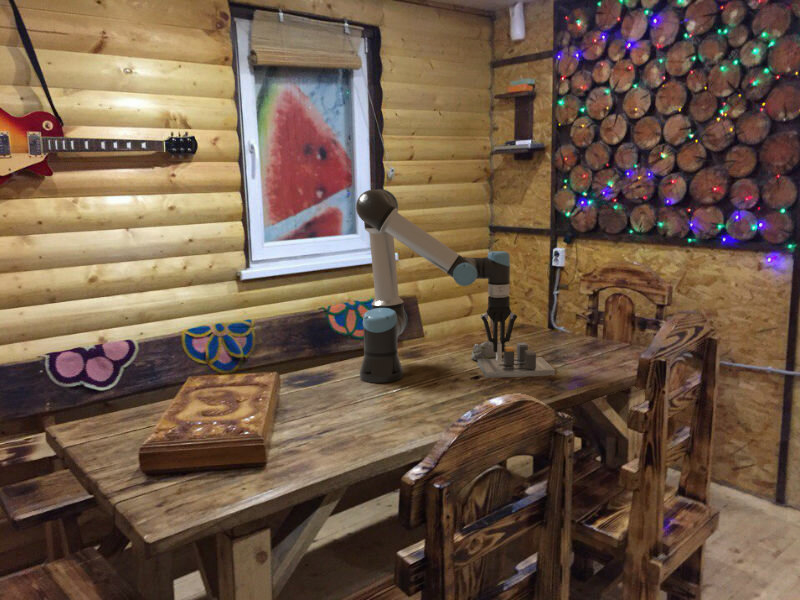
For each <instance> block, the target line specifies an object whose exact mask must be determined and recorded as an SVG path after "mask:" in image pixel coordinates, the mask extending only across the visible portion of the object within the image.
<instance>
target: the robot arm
mask: <svg viewBox="0 0 800 600" xmlns="http://www.w3.org/2000/svg"><path fill="white" fill-rule="evenodd" d="M398 209H399V204H398V200H397V198H396V196H395V194H393V193H392V192H390V191H388V190H386V189H383V188H382V189H380V188H378V189H369V190H365V191H364V192H362V193H361V194H360V195H359V197H358V198H357V200H356V204H355V210H356V213H357V215H358V217H359V218H360V219H361V221H362V222H364V223H363V224H364V230H365V231H366V232H368V233H369V244H370V254H371V255H370V256H371V266H372V267H371V268H372V275H373V276H372V277H373V285H374V287H373V288H374V300H373V301H372V302H371V309H369V310H367V311H366V312H365V313H364V314H363V319H362V329H363V330H362V331H363V350H364V351H363V359H362V363H361V366H360V369H359V378H360V379H361V381H364V382H367V383H375V384H376V383H377V384H378V383H379V384H381V383H385V384H386V383H392V382H396V381H399V380H401V379H402V378H403V376H404V371H403V369H404V368H403V366H402V364H401V363H402V362H401V360H400V357H399V355H398V337H399V336H400V335H402V334H403V333H404V331H406V328H407V325H408V315H407V313H406V311H405V308H404V307H405V306H404V305H405V304H404V300H403V299H402V298H400V296H399V295H400V294H399V286H398V285H399V284H398V283H399V282H398V274H397V272H398V271H397V262H396V261H397V260H396V251H395V250H396V249H395V248H396V247H395V239H396V240H397V241H398V242H400V243H401V244H403V245H404V246H406V247H407V248H409V249H410V250H411V251H413V252H415V253H417V255H419V256H420V257H422V258H423V259H425V260H427V261H428V262H430V263H431V264H432V265H434V266H435V267H436V268H438V269H440V270H441V271H443V272H444V273H446V274H447V275H449V277H450V278H453V280H454V282H455V283H456V284H458V286H462V287H468V286H470V285H472V284H473V283H474V282H476V280H481V279H483V280H486V279H487V294H488V296H487V309H486V313H484V314H481V315H480V319H481V321H482V322H483V325H484V329H485V330H484V331H485V333H486V337H487V341H489V342H492V343H493V351H494V352H496V357H495V359H496V361H497V362H502V357H503V356H502V355H503V353H504V344H505V345H506V343H507V342H510V341H511V337H512V333H513V329H514V324H515V321H516V320H517V318H518V315H517V314H516V313H513V312H512V310H511V306H510V302H511V301H510V296H509V295H510V293H511V292H510V291H511V290H510V287H511V286H510V282H511V281H510V278H511V261H510V259H511V258H510V253H509V252H507V251H504V250H502V251H500V250H498V251H497V250H495V251H494V250H492V251H489V252H488V254H487V256H486V257H467V256H462V255H460V254H459V253H457V252H456V251H455V250H453V249H452V248H450V247H449V246H447V245H446V244H444V243H443V242H441V241H440V240H439V239H437V238H435V237H434V236H432V235H431V234H430V233H428V232H427V231H425V230H423V228H420V226H418V225H417V224H415V223H413V222H412V221H410V220H409V219H408V218H406V217H405V216H403V215H402V214H400V213H399V210H398ZM489 318H490V320H491V321H492V333H491V328H490V325H489V321H488V320H489ZM508 318H509V320H508V323H507V329H506V321H507V319H508ZM498 325H499V327H498ZM498 329H499V333H498ZM498 334H499V336H498ZM498 337H499V341H498ZM502 352H503V353H502Z"/></svg>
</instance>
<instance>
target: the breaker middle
mask: <svg viewBox="0 0 800 600" xmlns="http://www.w3.org/2000/svg"><path fill="white" fill-rule="evenodd" d="M503 358H504V364H505V365H514V358H515V348H514V347H513V346H506V347H504V352H503Z"/></svg>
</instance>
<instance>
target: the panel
mask: <svg viewBox="0 0 800 600" xmlns="http://www.w3.org/2000/svg"><path fill="white" fill-rule="evenodd" d="M477 366H478V368H479V369H480V371H481V372H482V374H483V375H484V377H485V378H486V379H497V378H499V379H500V378H519V377H520V378H521V377H522V378H523V377H524V378H525V377H544V376H545V377H547V376H549V375H552V376H556V369H555V368H554V367H553V366H552V365H551V364H549V363H548V361H546V360H545V359H544V358H543V357H542V356H536V369H527V368H526V367H525V360H522V361H519V360H518V359H517V357H514V365H505V364H504V357H503V358H502V362H497V361H496V358H488V359H478V360H477Z"/></svg>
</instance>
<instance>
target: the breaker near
mask: <svg viewBox="0 0 800 600" xmlns="http://www.w3.org/2000/svg"><path fill="white" fill-rule="evenodd" d="M536 357H537V352H536V351H535V350H534V349H528V350H525V367H526V368H527V369H536Z"/></svg>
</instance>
